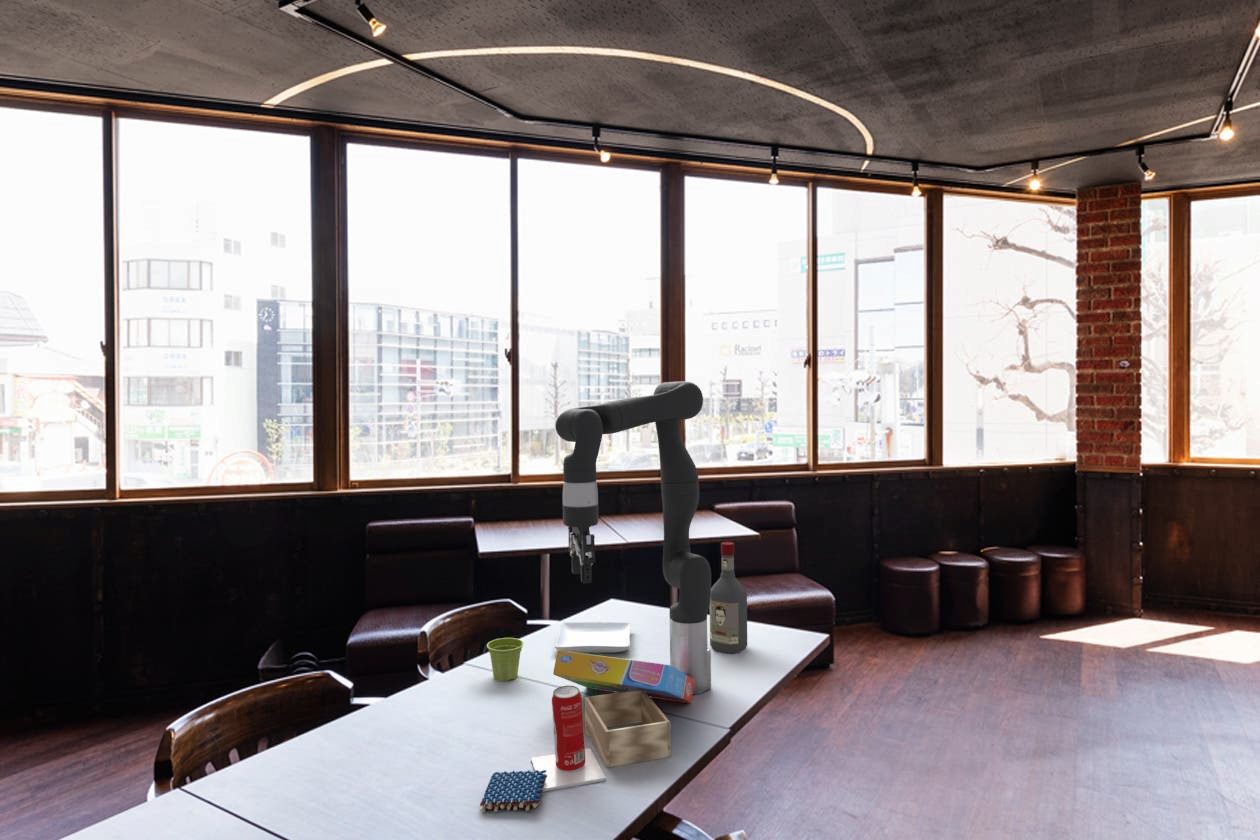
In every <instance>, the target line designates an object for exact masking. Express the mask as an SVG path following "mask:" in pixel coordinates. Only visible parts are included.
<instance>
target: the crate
mask: <svg viewBox="0 0 1260 840" xmlns="http://www.w3.org/2000/svg"><path fill="white" fill-rule="evenodd" d="M584 721H585V725H584V727H585V729H584V730H585V731H586V733H587V735H588V736H589V738H590V740H591V742H592V744H593V746H594V747H595V748H594V749H596V752H598V756H600V758H601V760H602V762H603V764H604V765H605V767H606V768H607V769H608V768H612V767H618V766H619V767H620V766H625V765H629V764H630V765H631V764H635V763H642V762H646V761H647V762H648V761H653V760H659V759H664V758H670V757H671V721H670V720H669V719H668V718H667V716H666V715H665V714H664V713H663V711H662V710H661V709H660V708H659V706H658V705H657V704H656V703H655V702H654V701H653V700H652V697H649V696H648V695H647V693H646V692H645V691H644V690H643V689H639V690H632V691H625V692H612V693H606V694H599V695H590V696H585V697H584ZM635 723H636V724H637V723H642V724H639V725H633V726H628V727H627V726H626V727H621V728H620V727H619V728H613V729H608V728H609V727H615V726H616V727H617V726H622V725H629V724H635Z"/></svg>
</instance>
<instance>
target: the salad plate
mask: <svg viewBox="0 0 1260 840" xmlns="http://www.w3.org/2000/svg"><path fill="white" fill-rule="evenodd" d="M631 627H632V624H631V623H630V622H612V621H611V622H610V621H609V622H608V621H601V622H599V621H588V622H587V621H583V622H581V621H580V622H578V621H575V622H562V624H561V625H560V629H559V633H558V636H557V639H556V640H555V643H554V646H553V647H554V648H555V650H557V651H558V650H562V651H569V652H577V653H584V654H604V653H605V654H606V653H607V654H609V653H611V654H612V653H613V654H614V653H621V652H624V651H627V650H628V649H629V648H630V646H631Z"/></svg>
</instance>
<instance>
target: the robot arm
mask: <svg viewBox="0 0 1260 840" xmlns="http://www.w3.org/2000/svg"><path fill="white" fill-rule="evenodd" d="M703 405H704V396H703V392H702V389H700V387H699V386H698V385H697V384H695V383H693V382H690V381H683V380H682V381H668V382H667V381H665V382H661V383H659V384H658V385H657V386H656V387H655V389H654V391H653V394H652V395H651V394H650V395H645V396H634V397H627V398H626V397H625V398H621V399H616V400H611V401H608V402H604V403H601V404H596V405H589V406H580V407H573V408H569V409H566V410H564V411H562V412H561V413H560V414H559V416H557V418H556V422H555V430H556V433H557V435H558V437H559V438H561V440H564V441H566V442H571V443H574V449H573V451H572V453H569V454H567V455H565V456H564V458H563V467H562V469H563V471H562V472H563V474H562V475H563V485H562V486H563V487H562V524H563V525H564V526H565V527H567V529H568V548H567V550H568V552H569V555H570V557H571V573H572V574H573V575H580V581H581V583H582V584H591V583H592V582H593V571H592V570H593V569H592V567H593V566H592V565H594V564H595V563H596V548H595V547H596V546H595V543H596V542H595V539H596V538H595V534H593V533H591V532H590V531H591V530H590V527H595V526H597V525H598V523H599V492H598V490H599V489H598V485H597V459H598V455H599V453H600V449H601V448H600V447H601V443H602V439H603V435H612V434H617V433H620V432H623V431H627V430H630V429H634V428H637V427H642V426H644V425H648V424H652V423H655V428H656V435H657V441H658V444H657V445H658V453H659V454H658V455H659V465H660V489H661V501H662V518H663V521H662V522H663V547H662V548H663V550H662V551H663V552H662V573H663V577H664V580H665V581H666V583H668V585H669V586H671V587H674V588H676V589H678V590H679V594H678V596H679V597H678V598H679V599H678V602H676V603H673V604H671V606H670V607H669V661H670V662H669V663H670V664H669V665H670V666H672V667H673V668H675V669H677V670H678V671H680V672H682V673H684V674H685V675H687V676H689V677H690V678H692V679H694V687H693V694H692V695H698V694H702V693H704V692H707V691H708V690H711V689H712V664H711V663H712V662H711V661H712V656H711V655H712V653H711V650H710V649H709V648H708V611H709V610H710V598H711V588H712V570H711V566H710V563H709V561H708V560H707V559H706V558H705V557H704V556H702V555H699V554H695V553H692V552H691V546H690V528H691V524H692V521H693V519H694V516H695V514H696V511H697V509H698V505H699V500H700V484H699V482H700V481H699V472H698V469H697V467H696V464H695V463H694V461H693V458H692V457H691V455H690V453H689V451H688V449H687V447H686V446H685V444H684V441H683V437H682V433H681V424H680V420H689V419H693V418H694V417H696V416H697V415H698V414H699V413H700V412H701V410H702V409H703ZM586 556H588V557H586Z"/></svg>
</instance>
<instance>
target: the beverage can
mask: <svg viewBox="0 0 1260 840" xmlns="http://www.w3.org/2000/svg"><path fill="white" fill-rule="evenodd" d="M582 698H583V697H582V693H581V692H580V688H578V687H577V686H575V685H562V686H559V687H557V688H555V689H554V690H553V693H552V696H551V706H552V707H551V711H552V726H553V739H554V740H553V742H554V754H555V759H556V766H557V768H558V769H559V770H561V771H563V772H574V771H577V770H579V769H581V768H582V767H583V766H584V764H585V749H586V748H585V731H584V730H585V729H584V716H583V715H584V714H583V711H584V710H583V700H582Z"/></svg>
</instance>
